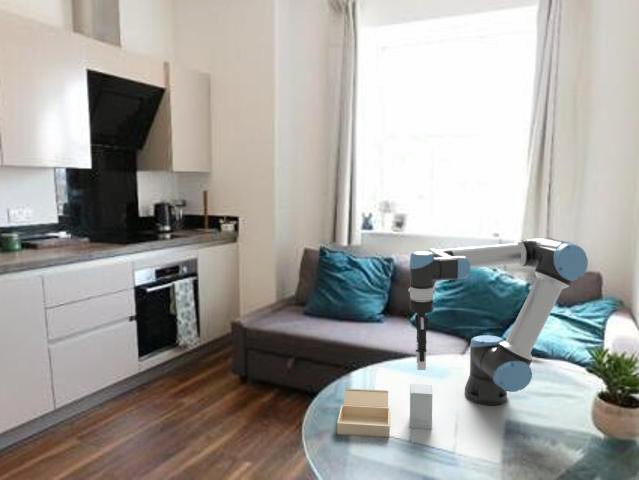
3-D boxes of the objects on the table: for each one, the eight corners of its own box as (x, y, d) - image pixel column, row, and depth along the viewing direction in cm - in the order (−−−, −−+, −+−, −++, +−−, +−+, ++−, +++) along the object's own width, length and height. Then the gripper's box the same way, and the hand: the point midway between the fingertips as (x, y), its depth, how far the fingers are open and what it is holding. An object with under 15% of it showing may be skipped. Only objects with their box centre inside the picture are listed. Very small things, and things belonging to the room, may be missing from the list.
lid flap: (387, 406, 167) (387, 407, 167) (388, 390, 174) (388, 391, 174) (343, 404, 169) (343, 405, 170) (345, 388, 176) (345, 389, 177)
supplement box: (432, 430, 159) (432, 394, 157) (409, 428, 161) (409, 392, 159) (431, 418, 166) (432, 384, 164) (410, 416, 168) (410, 382, 166)
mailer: (389, 418, 167) (389, 407, 166) (389, 437, 155) (389, 426, 155) (341, 415, 170) (341, 404, 169) (337, 434, 158) (337, 423, 157)
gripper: (409, 291, 166) (409, 354, 169) (410, 306, 148) (410, 377, 152) (431, 291, 165) (430, 355, 168) (435, 307, 147) (434, 378, 151)
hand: (421, 365), depth 160 cm, fingers open, 5 cm apart
